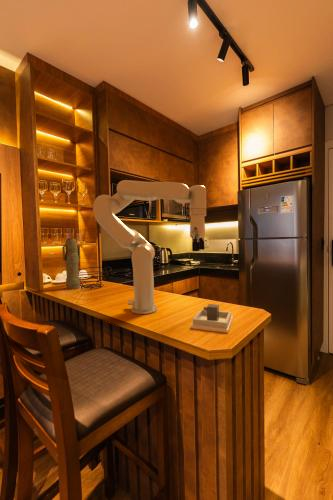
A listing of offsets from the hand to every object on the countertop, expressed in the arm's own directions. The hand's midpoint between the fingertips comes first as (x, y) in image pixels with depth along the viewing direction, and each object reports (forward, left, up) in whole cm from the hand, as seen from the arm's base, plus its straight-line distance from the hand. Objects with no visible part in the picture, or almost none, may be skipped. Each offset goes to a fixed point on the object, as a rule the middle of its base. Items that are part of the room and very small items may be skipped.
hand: (198, 250), depth 111 cm
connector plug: (+9, -14, -27) cm, 32 cm away
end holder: (+9, -14, -28) cm, 33 cm away
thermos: (-96, +21, -28) cm, 102 cm away
